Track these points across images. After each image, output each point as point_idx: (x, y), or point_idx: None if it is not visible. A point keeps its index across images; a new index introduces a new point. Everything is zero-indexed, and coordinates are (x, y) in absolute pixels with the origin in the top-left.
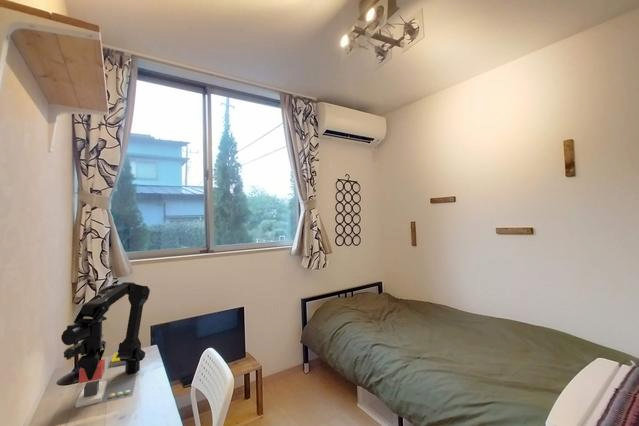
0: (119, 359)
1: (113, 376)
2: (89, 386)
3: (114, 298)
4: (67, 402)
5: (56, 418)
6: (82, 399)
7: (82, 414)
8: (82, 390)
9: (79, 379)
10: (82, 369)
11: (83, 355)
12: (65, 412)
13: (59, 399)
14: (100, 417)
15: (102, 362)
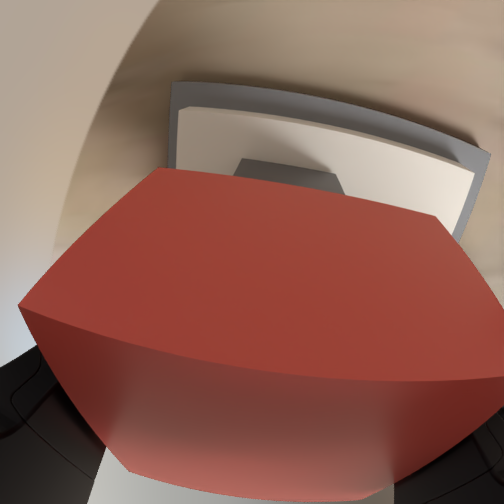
0: None
1: (498, 291)
2: None
3: None
4: (373, 52)
5: (167, 17)
6: (216, 150)
7: (132, 149)
8: (397, 149)
9: (129, 196)
10: (59, 361)
11: None
12: (217, 48)
13: (450, 24)
14: (75, 230)
15: (259, 497)
